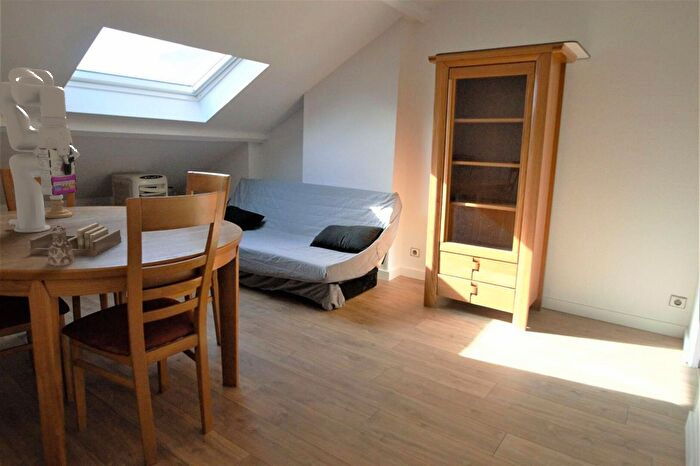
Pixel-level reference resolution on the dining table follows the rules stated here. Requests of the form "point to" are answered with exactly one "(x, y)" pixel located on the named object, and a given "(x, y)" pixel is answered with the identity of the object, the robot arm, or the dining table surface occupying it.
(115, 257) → the dining table surface
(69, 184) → the candy bar box
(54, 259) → the figurine
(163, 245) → the dining table surface
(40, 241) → the rack
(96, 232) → the offcuts
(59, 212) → the candle holder
